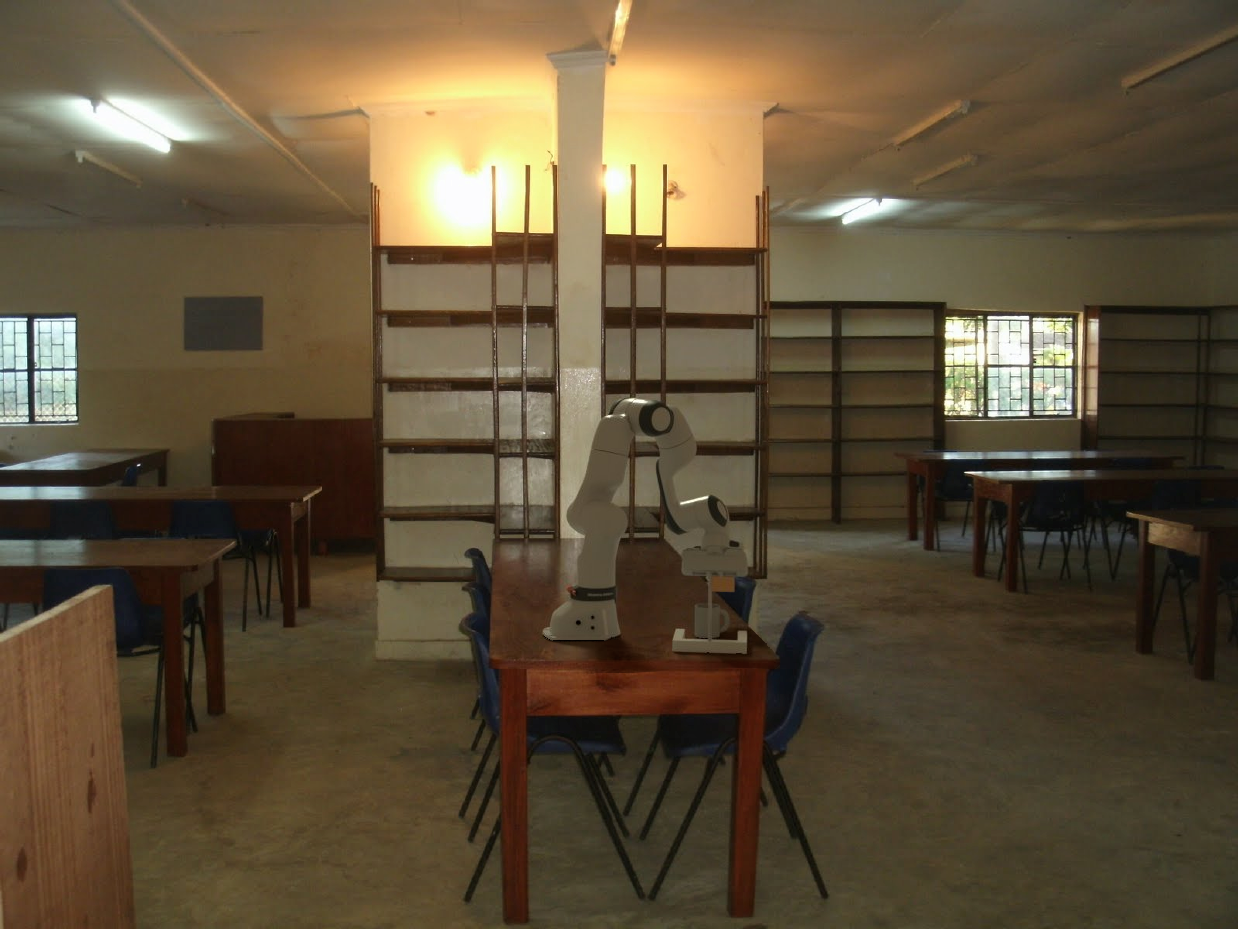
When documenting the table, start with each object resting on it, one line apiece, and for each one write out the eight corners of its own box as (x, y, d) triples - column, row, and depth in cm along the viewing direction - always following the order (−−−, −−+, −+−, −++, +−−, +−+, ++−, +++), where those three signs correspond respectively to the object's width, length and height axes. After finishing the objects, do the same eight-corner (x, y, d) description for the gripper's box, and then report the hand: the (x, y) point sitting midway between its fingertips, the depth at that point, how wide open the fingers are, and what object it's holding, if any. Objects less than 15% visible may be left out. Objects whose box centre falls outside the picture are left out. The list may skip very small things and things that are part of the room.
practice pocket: (675, 639, 306) (676, 565, 305) (746, 641, 304) (747, 567, 303) (672, 651, 292) (672, 574, 291) (746, 653, 290) (747, 576, 288)
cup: (693, 633, 314) (694, 603, 313) (728, 633, 314) (728, 603, 313) (695, 639, 307) (695, 608, 306) (730, 639, 307) (731, 608, 306)
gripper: (681, 542, 333) (679, 579, 324) (747, 543, 331) (747, 580, 322) (682, 554, 338) (680, 591, 329) (747, 555, 336) (747, 592, 327)
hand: (714, 585), depth 325 cm, fingers closed
